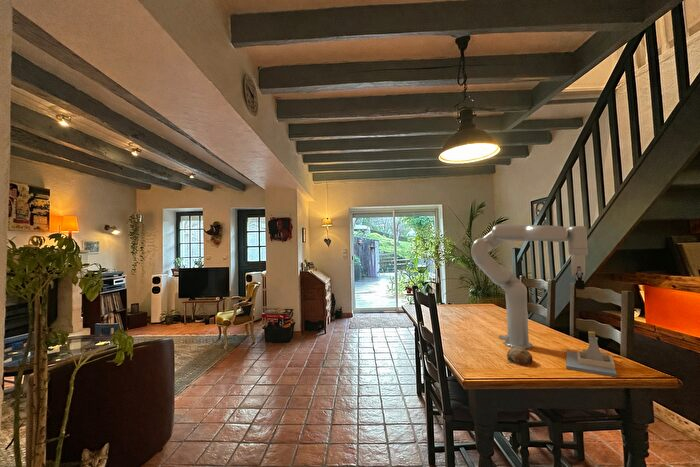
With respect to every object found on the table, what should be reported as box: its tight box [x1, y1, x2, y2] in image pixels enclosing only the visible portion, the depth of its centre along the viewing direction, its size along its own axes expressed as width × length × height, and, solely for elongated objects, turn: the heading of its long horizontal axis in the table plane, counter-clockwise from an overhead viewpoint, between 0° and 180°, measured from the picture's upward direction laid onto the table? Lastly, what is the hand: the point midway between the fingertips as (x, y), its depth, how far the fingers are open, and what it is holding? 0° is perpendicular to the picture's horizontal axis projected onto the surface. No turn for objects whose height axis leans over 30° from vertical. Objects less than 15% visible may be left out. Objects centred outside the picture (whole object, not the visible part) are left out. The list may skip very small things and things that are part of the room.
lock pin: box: [587, 330, 596, 344], centre depth 145 cm, size 2×14×8 cm, turn 145°
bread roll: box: [506, 347, 533, 366], centre depth 139 cm, size 10×10×8 cm
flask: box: [584, 336, 605, 362], centre depth 135 cm, size 7×7×10 cm
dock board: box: [565, 348, 618, 378], centre depth 135 cm, size 16×24×4 cm, turn 145°
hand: (580, 288), depth 150 cm, fingers open, 9 cm apart
